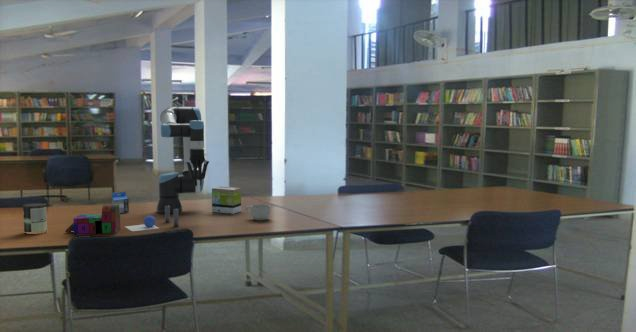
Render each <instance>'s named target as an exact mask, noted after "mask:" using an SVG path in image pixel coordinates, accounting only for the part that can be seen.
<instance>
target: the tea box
mask: <svg viewBox="0 0 636 332" xmlns="http://www.w3.org/2000/svg"><path fill="white" fill-rule="evenodd" d="M211 211H212V213H222V214H229V213H230V214H229V215H235V214H237V213H240V212H242V188H241V187H232V186H231V187H229V186H216V187H213V188H211Z"/></svg>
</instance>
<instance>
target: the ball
mask: <svg viewBox="0 0 636 332" xmlns="http://www.w3.org/2000/svg"><path fill="white" fill-rule="evenodd" d="M143 224H144V225H145V226H146V227H152V226H154V225H155V224H156V218H155V216H153V215H147V216H145V217H144V218H143ZM155 226H156V225H155Z"/></svg>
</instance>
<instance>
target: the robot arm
mask: <svg viewBox="0 0 636 332" xmlns="http://www.w3.org/2000/svg"><path fill="white" fill-rule="evenodd" d="M159 120H160V123H161V124H160V136H161V137H162V138H182V139H183V165H184V169H183V170H182V171H181V174H180V173H179V172H177V171H176V172H175V171H173V172H167V173H162V174H159V176H158V191H159V192H158V202H157V204H156V205H157V206H156V213H157V214H158V213H159V214H165V206H170V214H173V209H178V211H179V213H180V212H183V206H182V203H181V200H180V194H198V193H202V192H203V189H204V183H205V178H206V173H207V170H208V165H209V164H210V161H209V160H207V159H206V157H205V149H204V148H205V123H204V120H202V114H201V110H200V108H199V107H197V106H170V107H167V108H166V109H164V110H163V111H162V112H161V113H160V115H159Z"/></svg>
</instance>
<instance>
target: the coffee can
mask: <svg viewBox="0 0 636 332" xmlns="http://www.w3.org/2000/svg"><path fill="white" fill-rule="evenodd" d="M22 211H23V214H22V215H23V230H24V232H42V231H46V230H47V231H48V221H47V219H48V217H47V203H45V202H33V203H31V202H30V203H25V204H22Z"/></svg>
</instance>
